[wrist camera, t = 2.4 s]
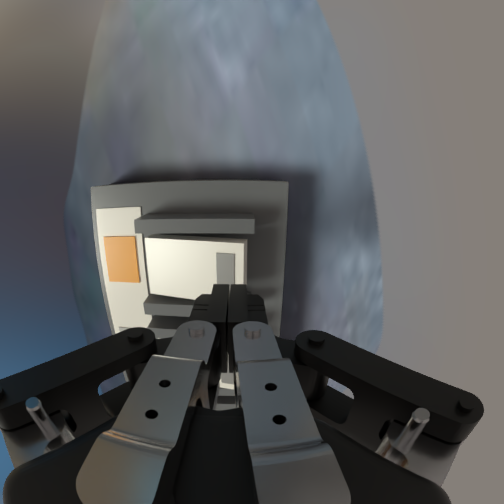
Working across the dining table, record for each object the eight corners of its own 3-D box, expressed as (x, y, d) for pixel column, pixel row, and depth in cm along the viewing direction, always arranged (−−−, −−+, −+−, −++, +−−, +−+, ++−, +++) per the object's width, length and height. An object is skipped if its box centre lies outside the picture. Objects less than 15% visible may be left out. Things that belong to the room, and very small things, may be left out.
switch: (152, 234, 16) (144, 238, 15) (247, 239, 15) (243, 243, 14) (157, 287, 17) (149, 293, 16) (246, 297, 16) (242, 305, 15)
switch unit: (109, 184, 18) (75, 189, 14) (281, 180, 19) (294, 183, 14) (150, 410, 25) (140, 443, 20) (266, 416, 26) (270, 452, 21)
